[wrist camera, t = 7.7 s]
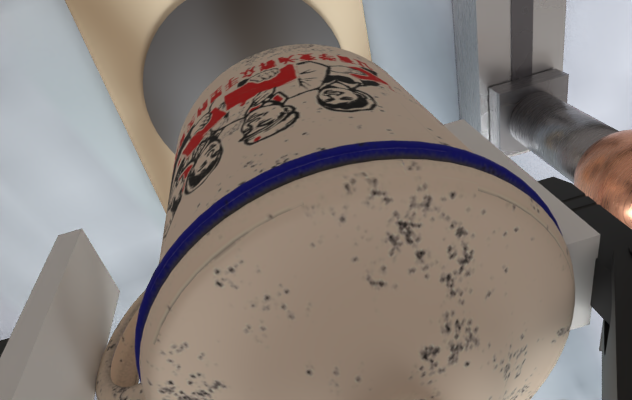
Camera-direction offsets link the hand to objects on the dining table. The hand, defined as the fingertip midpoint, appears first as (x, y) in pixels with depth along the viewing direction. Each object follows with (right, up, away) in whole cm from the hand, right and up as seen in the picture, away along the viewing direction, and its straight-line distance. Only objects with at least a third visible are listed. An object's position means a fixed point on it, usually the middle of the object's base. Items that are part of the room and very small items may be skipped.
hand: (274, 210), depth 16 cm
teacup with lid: (0, +1, +2) cm, 2 cm away
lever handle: (+13, +6, +13) cm, 19 cm away
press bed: (-3, +7, +12) cm, 14 cm away
